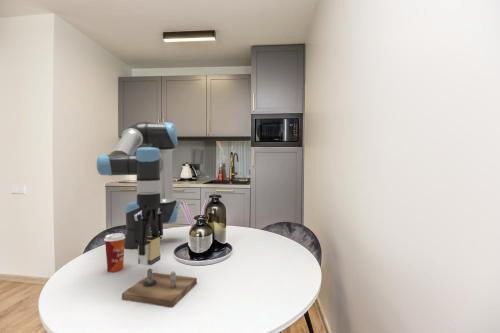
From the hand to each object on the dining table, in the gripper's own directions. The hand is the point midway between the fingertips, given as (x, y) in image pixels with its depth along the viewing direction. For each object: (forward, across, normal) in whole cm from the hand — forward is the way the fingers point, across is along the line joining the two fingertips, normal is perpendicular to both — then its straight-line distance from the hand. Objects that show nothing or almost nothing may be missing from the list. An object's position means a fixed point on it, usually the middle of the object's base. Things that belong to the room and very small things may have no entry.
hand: (149, 261), depth 89 cm
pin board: (+10, 0, +4) cm, 11 cm away
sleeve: (0, 0, 0) cm, 0 cm away
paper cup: (+10, -11, -25) cm, 29 cm away
